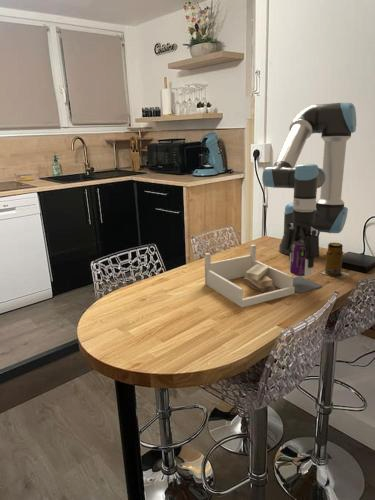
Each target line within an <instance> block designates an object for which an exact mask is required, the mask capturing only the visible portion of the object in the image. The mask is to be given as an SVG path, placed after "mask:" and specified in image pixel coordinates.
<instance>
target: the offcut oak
mask: <svg viewBox="0 0 375 500" xmlns="http://www.w3.org/2000/svg"><path fill="white" fill-rule="evenodd" d="M248 280H249V281H250V282H252V283H253V284H254V285H256V286H257V287H258V288H265V287H271V286H272V279H270V278H269V277H267V276H266V275H265V276H264V277H263V278H261V279H260V280H259V281H255V280H250V279H248Z"/></svg>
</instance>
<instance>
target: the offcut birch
mask: <svg viewBox="0 0 375 500" xmlns="http://www.w3.org/2000/svg"><path fill="white" fill-rule="evenodd" d="M269 266H270V265H268V266H263V265H258V264H257V265H255V266H254V267H252V268H251V269H250V270H248V271H247V272H246V276H244V278H245V279H250V280H255V281H259V280H260V279H261V278H263V277H264V276H265V275H266V274H268V273H269Z"/></svg>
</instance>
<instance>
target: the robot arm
mask: <svg viewBox="0 0 375 500" xmlns="http://www.w3.org/2000/svg"><path fill="white" fill-rule="evenodd" d="M356 112H357V111H356V107H355V105H354V104H353V103H352V102H334V103H332V102H331V103H321V104H320V103H318V104H312V105H310V106H308V107H306V108H304V109H303V110H301V111H300V112H299V113H298V114H297V115H296V116H295V117H294V118H293V120H292V121H291V122H290V125H289V127H288V128H289V132H288V135H287V137H286V139H285V141H284V143H283V145H282V147H281V150H280V152H279V154H278V155H277V158H276V160H275V163H274V164H273V166H269V167H265V168H264V169H263V171H262V184H263V185H264V187H265V188H266V187H267V188H273V189H274V188H276V189H293V202H289V203H287V204H286V205H285V206H284V212H283V215H284V218H283V219H284V220H283V235H282V238H281V242H280V243H279V246H278V252H279V253H282V254H284V255H288V261H289V264H290V263H291V246H292V244H293V241H298V240H304V243H305V248H306V253H307V258H306V259H305V273H304V276H303V277H304V278H305V277H311V276H313V275H312V274H313V268H314V262H315V259H318V258H319V257H320V239H319V238H320V234H321V233H327V234H340V233H341V232H342V231H343V229H344V227H345V224H346V220H347V217H348V212H349V209H348V207H346V206H345V202H344V200H343V199H342V192H343V184H344V183H343V181H344V172H345V171H344V169H345V163H346V162H345V161H346V160H345V159H346V151H347V142H348V141H349V140H350V138H351V137H352V133H355V132H356V131H357V130H356V129H357V113H356ZM312 134H321V137H320V138H321V139H322V140H323V141H324V145H323V148H324V149H323V158H322V159H323V160H322V168H320V167H319V166H318V164H315V163H301V164H297V162H298V159H299V157H300V155H301V152H302V150H303V148H304V146H305V145H306V144H305V143H306V141H307V139H309V138H310V137H311V135H312ZM296 164H297V165H296ZM319 188H320V195H319V199H318V200H317V192H318V189H319ZM288 270H289V271H290V265H289V268H288Z"/></svg>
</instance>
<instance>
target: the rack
mask: <svg viewBox="0 0 375 500" xmlns="http://www.w3.org/2000/svg"><path fill="white" fill-rule="evenodd" d="M256 253H257V246H256V244H250V246H249V254H247V255H243V256H242V255H241V256H238V257H233V258H228V259H227V258H226V259H224V260H223V259H222V260H217V261H212V259H211V258H212V256H211V253H210V252H206V253H204V284H205V285H206V286H208V287H209V288H211V289H212V290H214V291H215V292H217V293H218V294H220V295H221V296H223V297H225V298H226V299H228V300H230V301H231V302H232V303H234V304H236V305H237V306H238V307H240V308H247V307H249V306H253V305H257V304H260V303H264V302H265V303H266V302H268V301H272V300H277V299H279V298H283V297H288V296H291V295H294V294H295V291H294V289H295V287H293V278H294V276H292V275H291V274H288V273H285V272H283V271H282V270H279V269H276V268H274V267H272V266H270V265H267V264H265V263H262V262H261V261H259V260H257V259H256ZM257 264H258V265H263V266H269V273H268V274H266V276H267V277H269V278H270V279H272V285H273V286H274V287H275V288H279V289H276V290H275V289H274V290H273V291H269V292H265V293H260V294H256V295H252V296H248V297H245V298H244V296H243V295H244V294H243V293H244V291H243V290H244V288H242V287H240V286H238V285H237V284H236V283H234V282H232V281H230V280H235V279H238V278H241V277H243V278H244V277H245V276H246V272H247V271H248V270H250V269H251V268H252V267H254V266H255V265H257Z"/></svg>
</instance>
